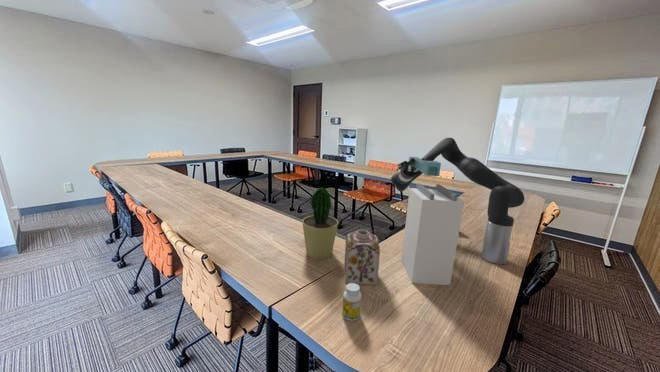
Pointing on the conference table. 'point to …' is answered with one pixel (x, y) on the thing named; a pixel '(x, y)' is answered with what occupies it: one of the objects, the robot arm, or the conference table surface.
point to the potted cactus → (320, 226)
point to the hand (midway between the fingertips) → (418, 160)
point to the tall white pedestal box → (431, 234)
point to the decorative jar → (361, 258)
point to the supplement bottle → (351, 302)
